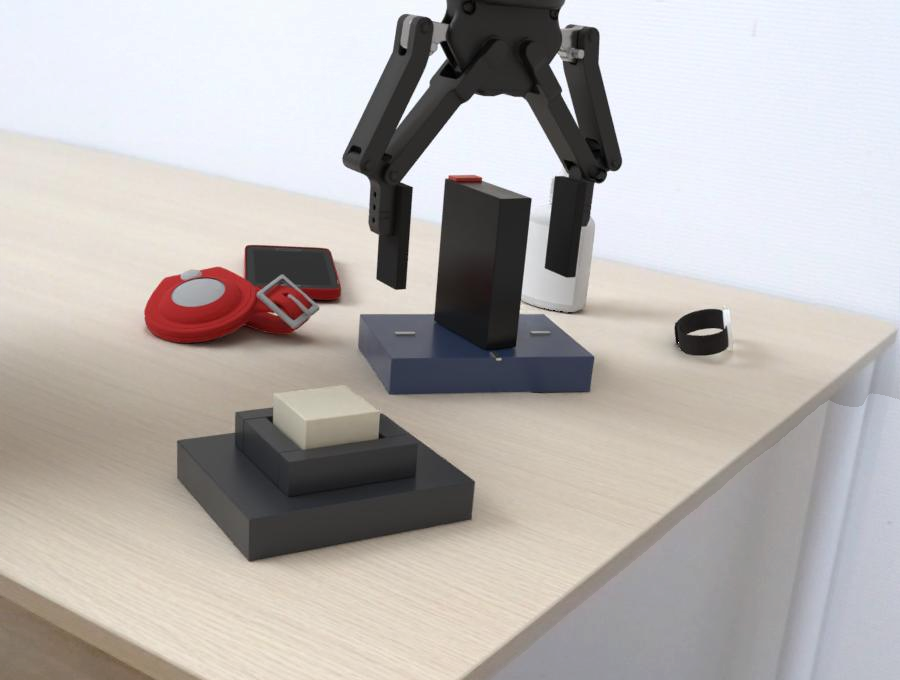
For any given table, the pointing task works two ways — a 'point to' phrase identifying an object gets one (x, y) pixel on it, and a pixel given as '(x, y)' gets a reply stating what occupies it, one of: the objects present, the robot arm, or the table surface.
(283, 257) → the cell phone
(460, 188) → the black upright rectangular block
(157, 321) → the tracker holder
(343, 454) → the stepped push button
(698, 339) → the watch
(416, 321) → the navy base plate
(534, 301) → the eye dropper bottle
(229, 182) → the table surface
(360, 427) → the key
